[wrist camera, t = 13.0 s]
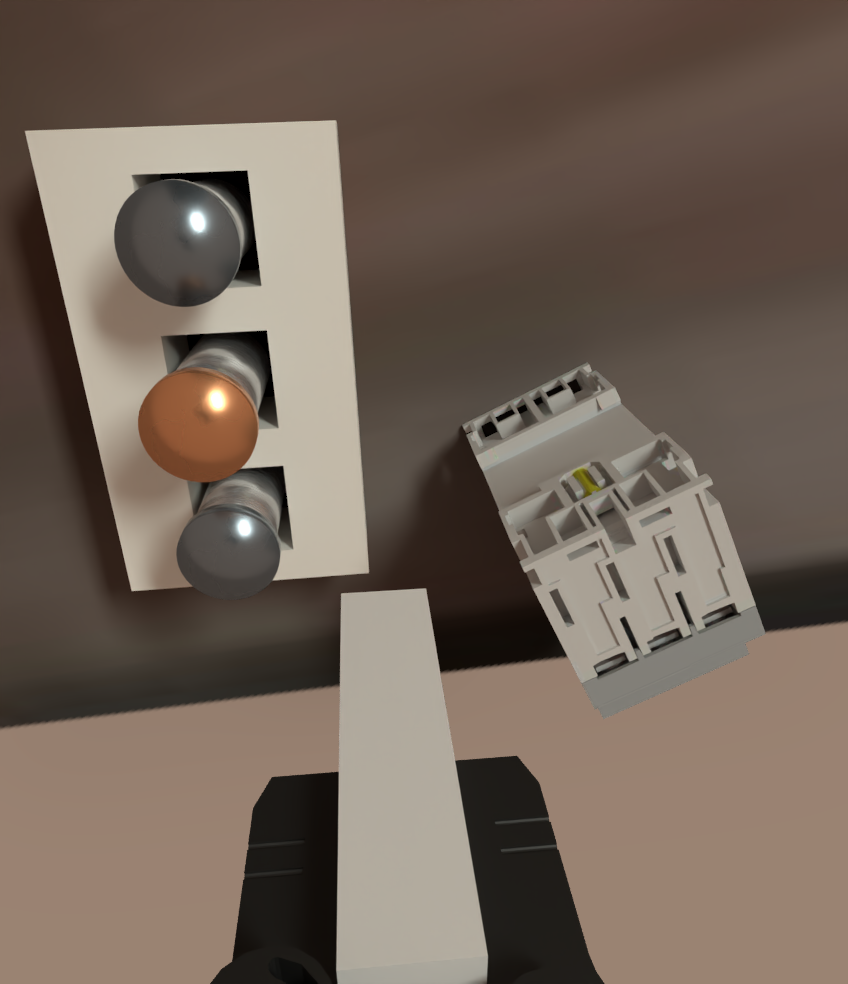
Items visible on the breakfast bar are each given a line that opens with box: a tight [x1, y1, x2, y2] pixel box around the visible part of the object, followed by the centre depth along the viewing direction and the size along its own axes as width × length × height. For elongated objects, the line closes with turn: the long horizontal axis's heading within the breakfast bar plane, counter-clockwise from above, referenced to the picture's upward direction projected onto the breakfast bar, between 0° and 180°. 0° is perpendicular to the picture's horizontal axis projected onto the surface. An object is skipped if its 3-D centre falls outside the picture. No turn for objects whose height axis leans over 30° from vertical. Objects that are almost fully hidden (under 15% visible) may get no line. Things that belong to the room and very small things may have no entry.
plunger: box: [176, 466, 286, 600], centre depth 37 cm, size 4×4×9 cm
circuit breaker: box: [462, 363, 765, 719], centre depth 37 cm, size 8×14×15 cm, turn 26°
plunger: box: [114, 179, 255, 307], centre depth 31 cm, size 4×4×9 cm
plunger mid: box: [138, 332, 270, 482], centre depth 33 cm, size 4×4×9 cm
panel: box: [25, 120, 369, 591], centre depth 36 cm, size 21×12×5 cm, turn 2°
